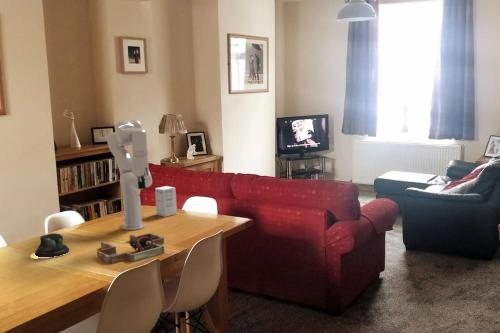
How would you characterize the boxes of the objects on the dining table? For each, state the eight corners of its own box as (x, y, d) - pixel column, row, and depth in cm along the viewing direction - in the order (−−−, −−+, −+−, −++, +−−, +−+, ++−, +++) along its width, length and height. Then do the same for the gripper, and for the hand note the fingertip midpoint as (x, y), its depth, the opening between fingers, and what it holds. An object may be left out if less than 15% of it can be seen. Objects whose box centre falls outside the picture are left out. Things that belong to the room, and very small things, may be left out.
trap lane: (84, 251, 252) (84, 245, 252) (146, 236, 276) (145, 230, 275) (115, 266, 231) (114, 260, 230) (179, 248, 254) (178, 242, 253)
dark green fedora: (82, 250, 255) (81, 232, 254) (48, 263, 238) (47, 243, 237) (55, 245, 265) (54, 227, 264) (21, 256, 248) (19, 238, 247)
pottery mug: (155, 248, 256) (156, 237, 251) (150, 262, 249) (151, 250, 244) (131, 243, 256) (132, 231, 251) (125, 257, 248) (126, 245, 243)
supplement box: (177, 214, 322) (176, 187, 319) (165, 216, 315) (164, 189, 313) (168, 211, 329) (166, 185, 326) (156, 214, 322) (154, 188, 319)
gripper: (126, 153, 269) (128, 187, 273) (140, 156, 258) (142, 192, 262) (139, 151, 274) (141, 185, 278) (153, 154, 263) (155, 189, 267)
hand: (141, 188), depth 270 cm, fingers closed
